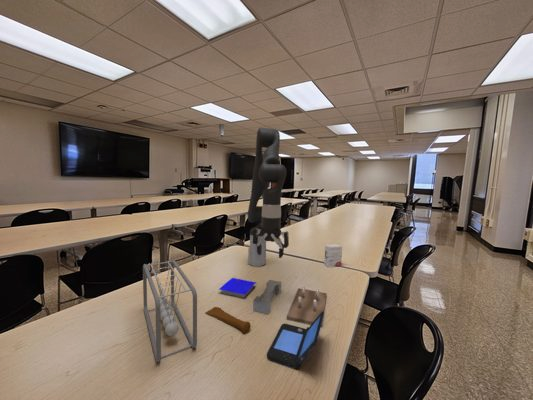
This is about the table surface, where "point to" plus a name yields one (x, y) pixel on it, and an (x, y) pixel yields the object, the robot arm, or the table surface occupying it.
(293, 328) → the handheld game console
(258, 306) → the grey stepped block
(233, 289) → the blue square pad
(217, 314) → the primitive tool
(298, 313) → the tool cradle
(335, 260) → the ink box
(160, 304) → the newton's cradle
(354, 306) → the table surface
